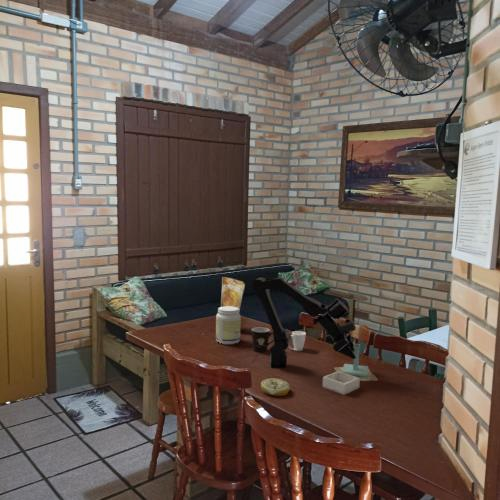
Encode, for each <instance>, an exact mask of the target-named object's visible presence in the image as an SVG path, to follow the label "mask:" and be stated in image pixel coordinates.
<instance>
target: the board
mask: <svg viewBox="0 0 500 500" xmlns="http://www.w3.org/2000/svg"><path fill="white" fill-rule="evenodd" d="M343 367H344V366H339V367H338V366H336V367H335V366H334V370H335V372H337V371H340V372H343ZM355 377H356V376H355ZM358 378H360V382H377V381H378V380H379V379H378V378H377V377H376V376H375V375H374V374H373V373H372V371H370V369H369V368H368V376H365V378H364V377H358Z"/></svg>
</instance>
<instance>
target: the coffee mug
mask: <svg viewBox="0 0 500 500" xmlns="http://www.w3.org/2000/svg"><path fill="white" fill-rule="evenodd" d="M271 335H273V331H272V332H271V330H270V329H269V328H268V327H260V326H259V327H253V328H251V338H252V339H251V340H252V350H253V351H254V352H255V353H261V354H262V353H266V352H267V351H268V346H269V345H271V344H272V343H274V339H273V340H272V341H270V342H269V338H270V337H271Z"/></svg>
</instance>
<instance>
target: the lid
mask: <svg viewBox="0 0 500 500" xmlns="http://www.w3.org/2000/svg"><path fill="white" fill-rule="evenodd" d="M353 344H354V346H353V348H354V351H353V353H354V355H355V356H356V358H355V359H353V360H352V361H353V364H350V363H344V364H343V366H342V367H343V373H346V374H349V375H352V376H356V377H364V378H365V376H368V369H369V366H368V365H359V362H360V361H359V358H360V350H361V344H358V343H353Z"/></svg>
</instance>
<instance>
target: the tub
mask: <svg viewBox="0 0 500 500" xmlns="http://www.w3.org/2000/svg"><path fill="white" fill-rule="evenodd" d="M360 382H361V381H360V378H358V377H355V376H352V375H349V374H346V373H343V372H340V371H335V372H333V373H329V374H327V375H324V376H322V388H324V389H326V390H329V391H332V392H335V393H338V394H340V395H343V396H345V395H347V394H349V393H352V392H354V391H356V390H359V389H360Z"/></svg>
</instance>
